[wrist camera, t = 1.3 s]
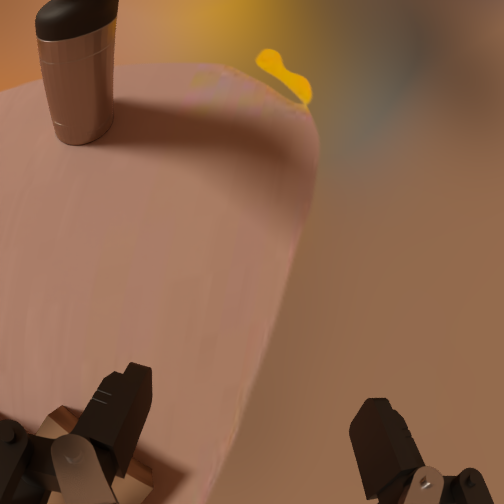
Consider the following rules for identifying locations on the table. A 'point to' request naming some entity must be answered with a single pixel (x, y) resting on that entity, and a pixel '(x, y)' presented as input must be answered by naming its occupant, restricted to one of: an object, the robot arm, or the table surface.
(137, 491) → the walnut riser block
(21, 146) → the table surface
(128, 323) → the table surface
